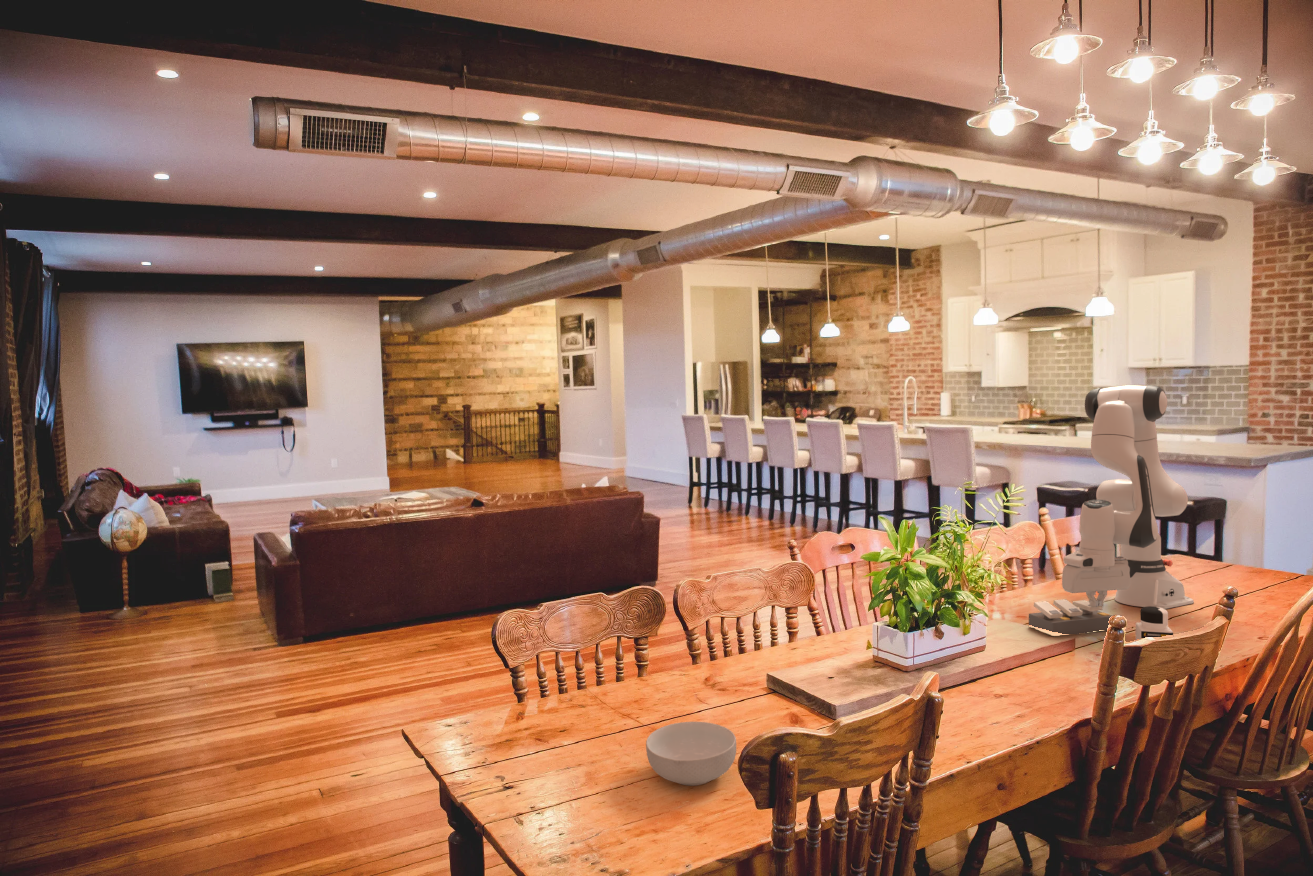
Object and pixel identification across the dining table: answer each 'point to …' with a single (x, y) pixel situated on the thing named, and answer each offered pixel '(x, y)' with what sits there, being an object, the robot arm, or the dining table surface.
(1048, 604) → the rocker
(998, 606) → the dining table surface
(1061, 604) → the rocker
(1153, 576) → the robot arm
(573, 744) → the dining table surface
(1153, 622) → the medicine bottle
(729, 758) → the cereal bowl
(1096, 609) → the rocker
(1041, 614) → the switch unit
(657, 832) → the dining table surface
